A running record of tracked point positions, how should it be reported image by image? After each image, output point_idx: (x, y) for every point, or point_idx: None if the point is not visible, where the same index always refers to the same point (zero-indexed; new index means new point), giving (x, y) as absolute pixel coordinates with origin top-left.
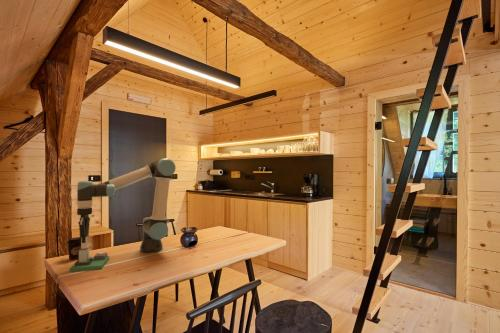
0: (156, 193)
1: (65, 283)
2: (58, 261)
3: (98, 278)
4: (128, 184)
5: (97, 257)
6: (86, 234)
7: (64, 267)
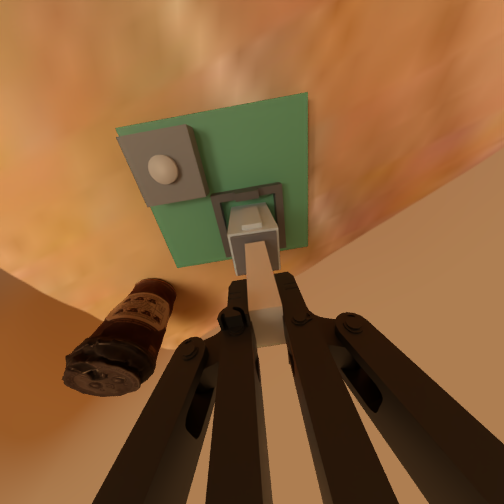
0: None
1: (428, 193)
2: (188, 323)
3: (451, 44)
4: None
5: (201, 174)
6: (252, 343)
7: None
